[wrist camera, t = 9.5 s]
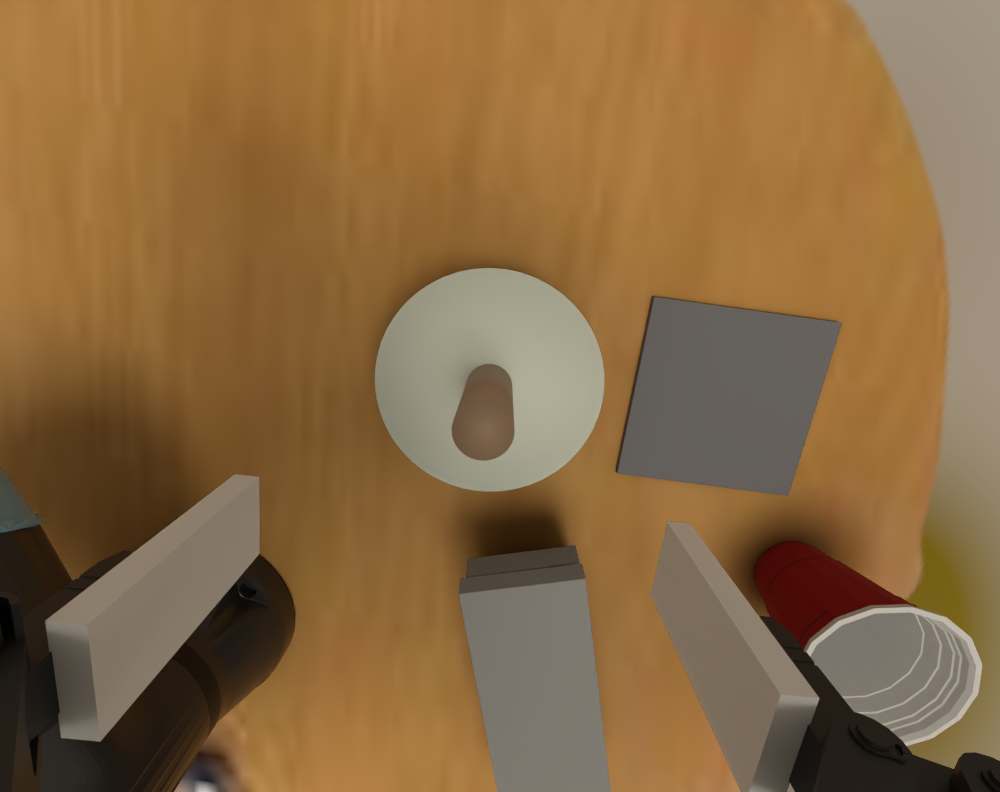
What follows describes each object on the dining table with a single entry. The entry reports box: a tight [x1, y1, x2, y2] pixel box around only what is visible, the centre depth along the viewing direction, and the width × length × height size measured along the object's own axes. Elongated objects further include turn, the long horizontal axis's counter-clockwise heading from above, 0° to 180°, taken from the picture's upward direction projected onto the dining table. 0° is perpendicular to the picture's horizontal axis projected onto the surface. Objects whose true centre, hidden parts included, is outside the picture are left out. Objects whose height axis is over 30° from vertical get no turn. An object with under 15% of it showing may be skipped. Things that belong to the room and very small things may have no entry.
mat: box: [616, 297, 842, 496], centre depth 38 cm, size 14×14×1 cm
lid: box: [375, 268, 604, 492], centre depth 28 cm, size 15×15×10 cm
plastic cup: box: [754, 541, 982, 746], centre depth 36 cm, size 11×11×12 cm
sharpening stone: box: [459, 545, 611, 792], centre depth 38 cm, size 25×8×11 cm, turn 8°
